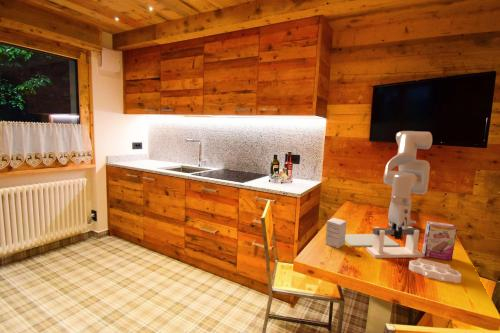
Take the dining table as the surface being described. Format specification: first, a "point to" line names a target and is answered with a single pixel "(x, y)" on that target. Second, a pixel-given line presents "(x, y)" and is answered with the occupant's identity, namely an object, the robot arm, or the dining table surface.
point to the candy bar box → (439, 240)
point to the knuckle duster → (435, 270)
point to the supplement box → (335, 232)
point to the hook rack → (395, 252)
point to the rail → (392, 231)
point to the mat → (366, 240)
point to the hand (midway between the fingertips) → (395, 237)
